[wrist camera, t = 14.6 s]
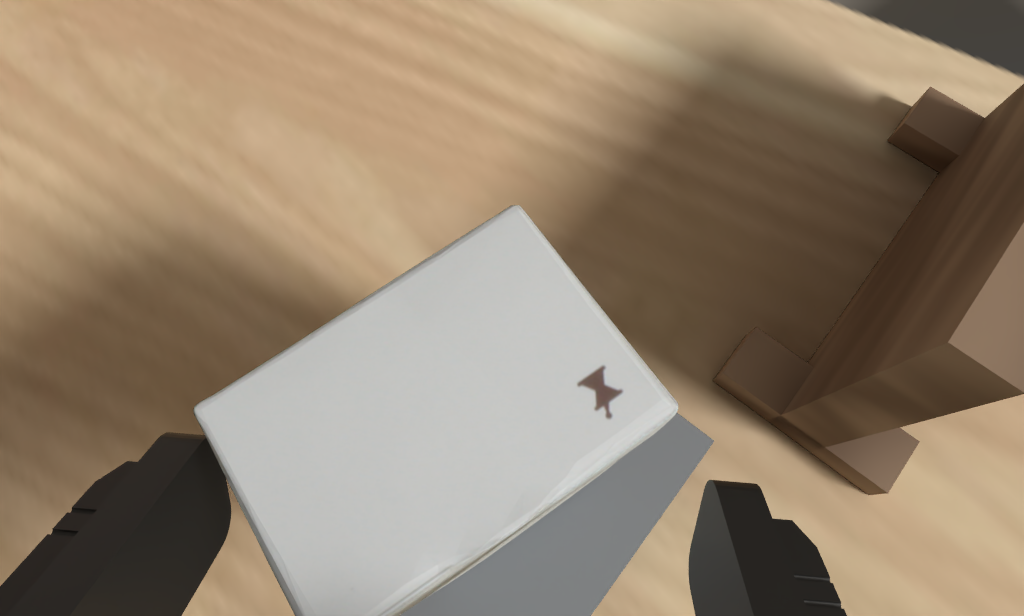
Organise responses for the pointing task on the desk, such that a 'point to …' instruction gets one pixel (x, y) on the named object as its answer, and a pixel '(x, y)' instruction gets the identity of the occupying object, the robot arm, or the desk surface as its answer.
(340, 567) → the skincare box
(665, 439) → the grey mat
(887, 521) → the desk surface
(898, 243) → the walnut screen
